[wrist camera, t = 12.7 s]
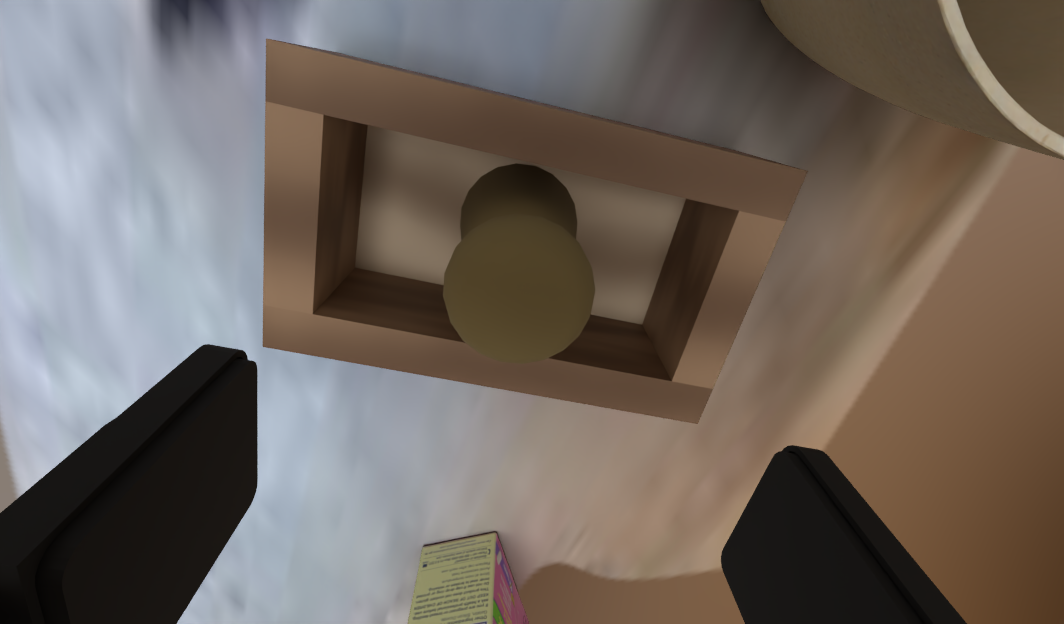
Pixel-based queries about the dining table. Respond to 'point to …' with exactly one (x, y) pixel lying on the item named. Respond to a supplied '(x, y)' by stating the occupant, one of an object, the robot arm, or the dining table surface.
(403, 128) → the walnut well caddy
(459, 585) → the box
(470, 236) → the olive brown gourd shape
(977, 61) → the plant pot
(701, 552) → the dining table surface
